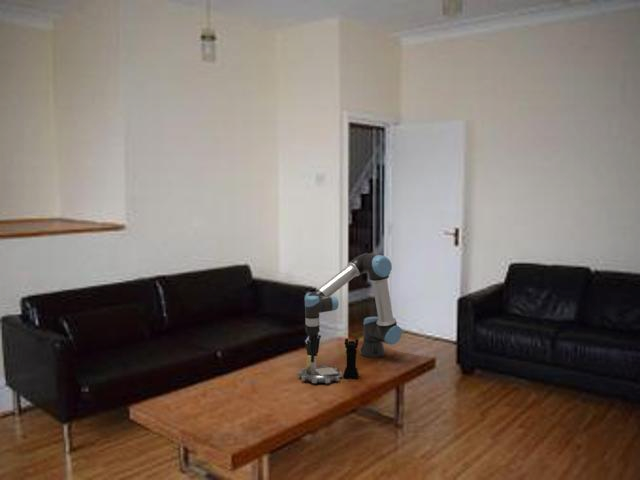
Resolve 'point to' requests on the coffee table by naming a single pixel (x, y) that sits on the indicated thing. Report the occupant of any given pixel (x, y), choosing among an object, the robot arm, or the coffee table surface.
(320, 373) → the sprocket
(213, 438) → the coffee table surface
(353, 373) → the chess piece
